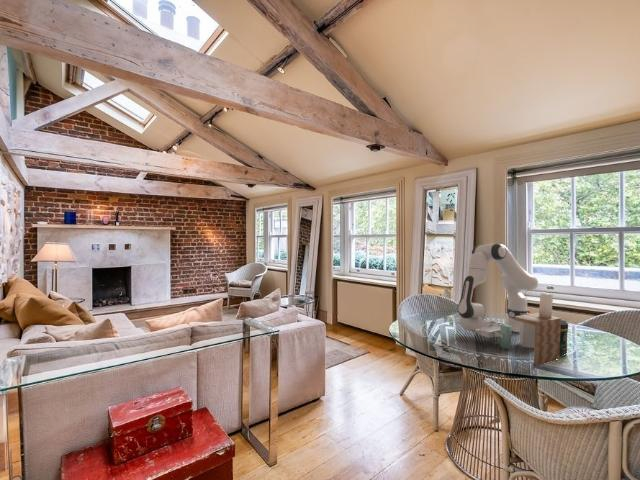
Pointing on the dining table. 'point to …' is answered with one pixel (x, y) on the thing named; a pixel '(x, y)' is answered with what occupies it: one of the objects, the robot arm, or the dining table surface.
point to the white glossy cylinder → (546, 305)
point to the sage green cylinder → (505, 336)
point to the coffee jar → (563, 337)
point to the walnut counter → (544, 336)
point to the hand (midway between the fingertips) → (507, 335)
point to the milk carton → (527, 335)
